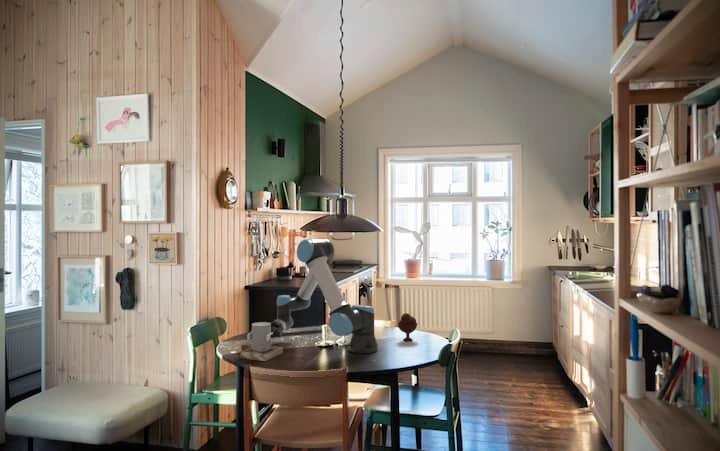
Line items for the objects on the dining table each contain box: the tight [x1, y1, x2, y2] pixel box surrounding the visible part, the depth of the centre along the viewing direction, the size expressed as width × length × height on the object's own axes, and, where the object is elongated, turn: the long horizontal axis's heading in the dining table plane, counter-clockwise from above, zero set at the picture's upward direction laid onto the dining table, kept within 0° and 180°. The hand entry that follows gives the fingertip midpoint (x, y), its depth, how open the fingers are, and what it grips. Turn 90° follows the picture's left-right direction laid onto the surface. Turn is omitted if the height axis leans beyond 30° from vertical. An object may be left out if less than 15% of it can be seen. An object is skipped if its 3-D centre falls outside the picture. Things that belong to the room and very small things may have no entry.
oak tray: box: [239, 345, 284, 362], centre depth 243 cm, size 15×15×3 cm
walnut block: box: [240, 342, 252, 352], centre depth 251 cm, size 4×4×4 cm
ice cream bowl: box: [397, 312, 418, 343], centre depth 270 cm, size 11×11×15 cm
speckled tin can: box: [251, 321, 272, 351], centre depth 243 cm, size 10×10×12 cm
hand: (257, 337), depth 239 cm, fingers closed on speckled tin can, 9 cm apart
